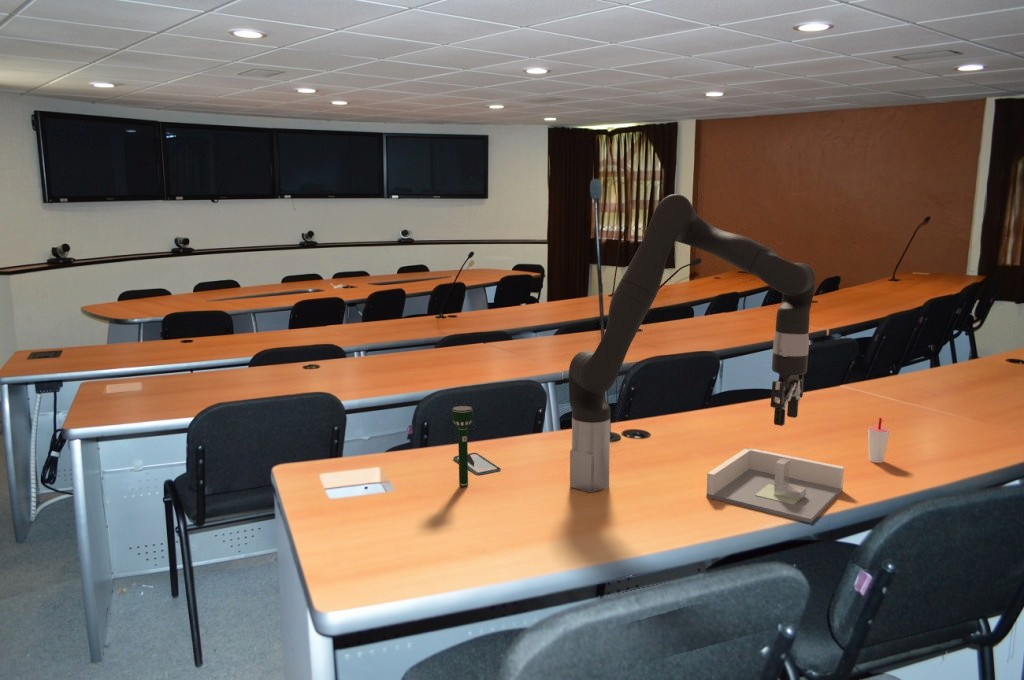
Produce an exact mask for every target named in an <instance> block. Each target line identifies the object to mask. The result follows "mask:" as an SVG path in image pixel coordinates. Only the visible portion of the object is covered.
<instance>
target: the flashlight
mask: <svg viewBox="0 0 1024 680" xmlns="http://www.w3.org/2000/svg"><path fill="white" fill-rule="evenodd" d="M451 418H452V421H453V423H454V425H455V426H456V427H457V431H458V432H457V435H458V441H457V442H458V456H459V463H458V485H459V487H460V488H462V489H466V488H468V486H469V470H468V454H469V453H468V448H469V447H468V444H469V443H468V427H469V426H470V425H471V423H473V418H474V409H473V407H472V406H470V405H462V404H461V405H455V406H453V407H452V408H451Z"/></svg>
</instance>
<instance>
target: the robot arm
mask: <svg viewBox="0 0 1024 680" xmlns="http://www.w3.org/2000/svg"><path fill="white" fill-rule="evenodd" d="M676 242H678V243H680V244H682V245H683V244H684V245H687V246H690V247H693V248H696V249H698V250H702V251H704V252H705V253H709V254H711V255H713V256H715V257H717V258H718V259H721V260H723V261H725V262H727V263H728V264H730V265H732V266H734V267H737V268H738V269H740V270H742V271H743V272H746V273H748V274H750V275H751V276H754V277H757V278H758V279H760V280H761V281H762V282H763V283H765V284H766V285H768V286H769V287H770V288H772V289H774V290H775V291H778V292H779V293H781V294H782V296H781V297H782V298H781V303H780V306H779V307H778V309H777V311H776V315H775V316H776V317H775V320H776V321H775V331H774V337H773V338H774V339H773V344H772V362H771V370H772V372H774V373H777V374H778V379H777V380H772V384H771V385H772V386H771V396H770V407H771V408H773V409H774V414H773V417H774V418H773V424H774V425H775V426H780V427H782V426H784V425H785V422H786V416H787V418H792V419H795V418H797V417H798V415H799V402H801V398H803V396H804V382H805V381H804V378H805V374H806V373H807V372H808V364H809V363H808V361H809V360H808V359H809V349H810V348H809V347H810V339H809V336H810V335H809V331H810V313H811V307H812V304H813V298H814V294H815V289H816V274H815V271H814V269H813V267H811V266H810V265H809V264H808V263H804V262H792V261H789V260H787V259H786V258H783V257H781V256H780V255H778V254H777V253H776V252H775V251H774V250H773V249H771V248H770V247H768V246H766V245H764V244H761V243H760V242H757V241H756V240H753V239H752V238H749V237H746V236H745V235H742V234H738V233H734V232H729V231H725V230H723V229H720V228H717V227H715V226H713V225H712V224H710V223H709V222H707V221H705V220H704V219H703V218H701V216H699V215H698V214H697V213H696V210H695V209H694V206H693V205H692V203H691V201H690V200H689V199H688V198H687V197H686V196H684V195H682V194H681V193H680V194H678V193H674V194H669V195H667V196H666V197H664V198H663V199H662V200H661V201H660V202H658V204H657V205H656V207H655V208H654V211H653V214H652V216H651V218H650V221H649V224H648V226H647V229H646V232H645V234H644V236H643V238H642V240H641V243H640V245H639V246H638V248H637V250H636V251H635V253H634V255H633V258H632V259H631V261H630V262H629V264H628V266H627V269H626V270H625V272H624V274H623V275H622V277H621V279H620V281H619V283H618V285H617V286H616V288H615V290H614V292H613V295H612V296H611V300H610V303H609V309H608V314H607V323H606V328H605V331H604V334H603V337H602V338H601V339H600V342H599V344H598V346H597V347H596V349H595V350H594V351H593V350H581V351H580V352H578V353H577V354H575V355H574V356H573V358H571V361H570V364H569V368H568V399H569V400H568V401H569V405H570V408H571V413H572V414H571V449H570V451H569V487H570V488H571V489H572V488H573V489H576V490H580V491H583V492H588V493H592V492H599V491H604V490H606V489H608V488H609V486H610V457H611V455H610V451H611V449H610V448H611V445H610V442H611V407H610V405H609V403H608V402H607V399H606V397H605V393H606V392H607V391H609V390H610V389H611V387H613V385H614V384H615V382H616V380H617V378H618V376H619V373H620V371H621V368H622V366H623V363H624V360H625V358H626V356H627V353H628V351H629V348H630V347H631V344H632V342H633V341H634V338H635V337H636V335H637V333H638V331H639V329H640V327H641V325H642V323H643V322H644V320H645V317H646V316H647V314H648V312H649V311H650V309H651V306H652V305H653V303H654V301H655V299H656V297H657V296H658V295H657V294H658V293H659V290H660V289H661V288H660V287H661V283H662V281H663V276H664V272H665V268H666V263H667V260H668V257H669V255H670V253H671V250H672V248H673V247H674V245H675V244H676ZM786 409H787V410H786Z"/></svg>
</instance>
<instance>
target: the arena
mask: <svg viewBox="0 0 1024 680" xmlns="http://www.w3.org/2000/svg"><path fill="white" fill-rule="evenodd" d="M781 458H784V459H789V460H790V472H789V484H791V485H795V486H800V487H804V488H806V496H805V497H804V498H803V499H802V500H801V501H796V500H792V499H788V498H784V497H779V496H775V495H774V483H775V466H776V462H777V461H778V460H780V459H781ZM844 472H845V466H841V465H836V464H832V463H827V462H823V461H822V462H821V461H816V460H810V459H805V458H801V457H795V456H792V455H785V454H780V453H775V452H770V451H767V450H766V451H764V450H761V449H755V448H750V447H746V448H745V447H744V449H742V450H740V451H739V452H738V453H736V454H735V455H733V456H731V457H729V458H728V459H727V460H725V461H724V462H722V463H721V464H719V465H718V466H716V467H714V468H713V469H712V470H710V471H708V472H707V476H706V477H707V478H706V498H707V499H710V500H715V501H719V502H724V503H727V504H730V505H736V506H739V507H744V508H747V509H751V510H756V511H759V512H764V513H767V514H771V515H776V516H779V517H783V518H787V519H792V520H796V521H800V522H804V523H807V524H812V523H813V522H814V521H815V520H816V519H817V517H818V516H820V514H822V512H823V511H824V510H825V509H826V508H828V507H829V505H830V504H831V503H832V502H833V501H834V500H835V499H836V498H837V497H838V496H839V495H840V494H841V493H842V492H843V489H844V488H843V486H844V475H845V473H844Z"/></svg>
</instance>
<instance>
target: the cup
mask: <svg viewBox="0 0 1024 680" xmlns="http://www.w3.org/2000/svg"><path fill="white" fill-rule="evenodd" d="M882 420H883V418H882V417H879V419H878V425H871V426H868V427H867V433H868V434H867V435H868V437H867V439H868V459H869V460H868V461H870V462H872V463H877V464H881V463H883V462H884V460H885V459H884V458H885V454H886V449H887V445H888V439H889V434H890V432H891V430H890V429H889V428H887V427H885V426H882V422H883V421H882Z"/></svg>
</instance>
